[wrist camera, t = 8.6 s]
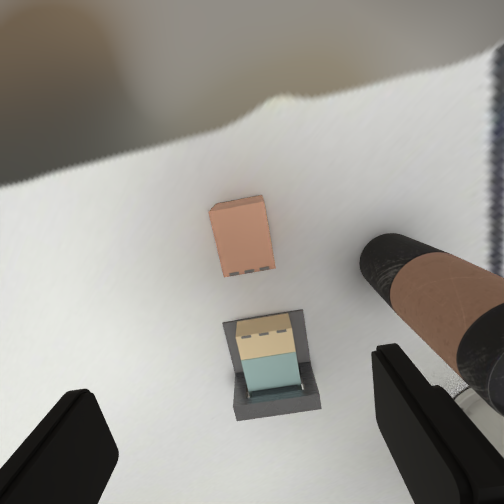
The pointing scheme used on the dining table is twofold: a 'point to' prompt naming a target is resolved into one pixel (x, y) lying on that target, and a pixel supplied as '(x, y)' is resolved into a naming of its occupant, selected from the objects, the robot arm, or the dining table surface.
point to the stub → (242, 236)
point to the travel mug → (444, 307)
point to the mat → (298, 336)
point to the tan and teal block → (268, 352)
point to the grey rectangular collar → (276, 397)
